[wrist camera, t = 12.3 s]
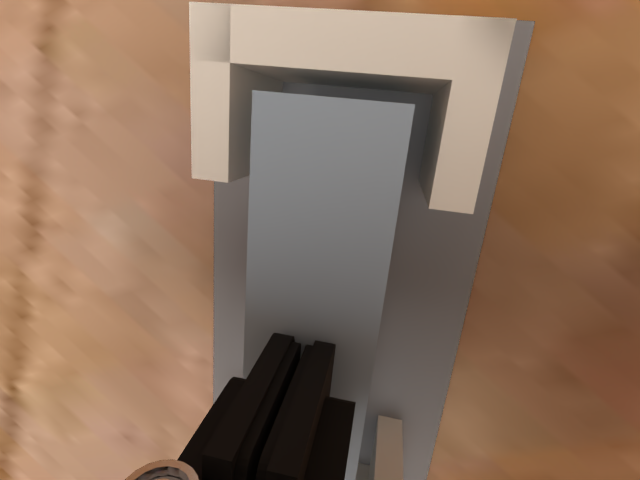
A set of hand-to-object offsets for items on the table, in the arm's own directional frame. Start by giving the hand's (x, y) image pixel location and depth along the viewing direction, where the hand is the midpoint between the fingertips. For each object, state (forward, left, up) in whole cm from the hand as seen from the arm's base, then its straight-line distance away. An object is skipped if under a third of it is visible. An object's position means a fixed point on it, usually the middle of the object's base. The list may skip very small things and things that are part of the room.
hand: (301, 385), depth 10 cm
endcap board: (0, 0, -6) cm, 6 cm away
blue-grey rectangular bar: (0, 0, -5) cm, 5 cm away
